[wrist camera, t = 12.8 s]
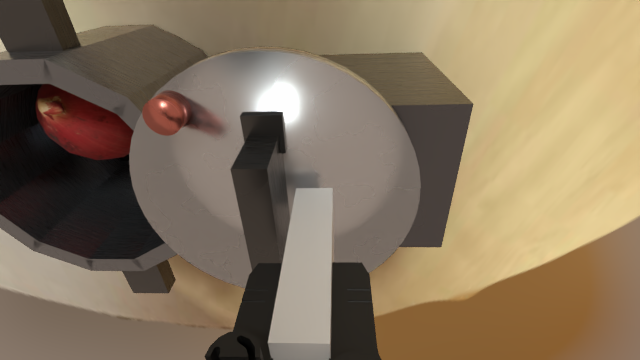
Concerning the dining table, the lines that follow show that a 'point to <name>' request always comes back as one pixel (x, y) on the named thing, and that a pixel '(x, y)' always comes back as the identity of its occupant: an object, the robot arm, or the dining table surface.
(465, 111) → the block
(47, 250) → the pot
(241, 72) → the lid
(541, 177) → the dining table surface
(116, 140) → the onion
